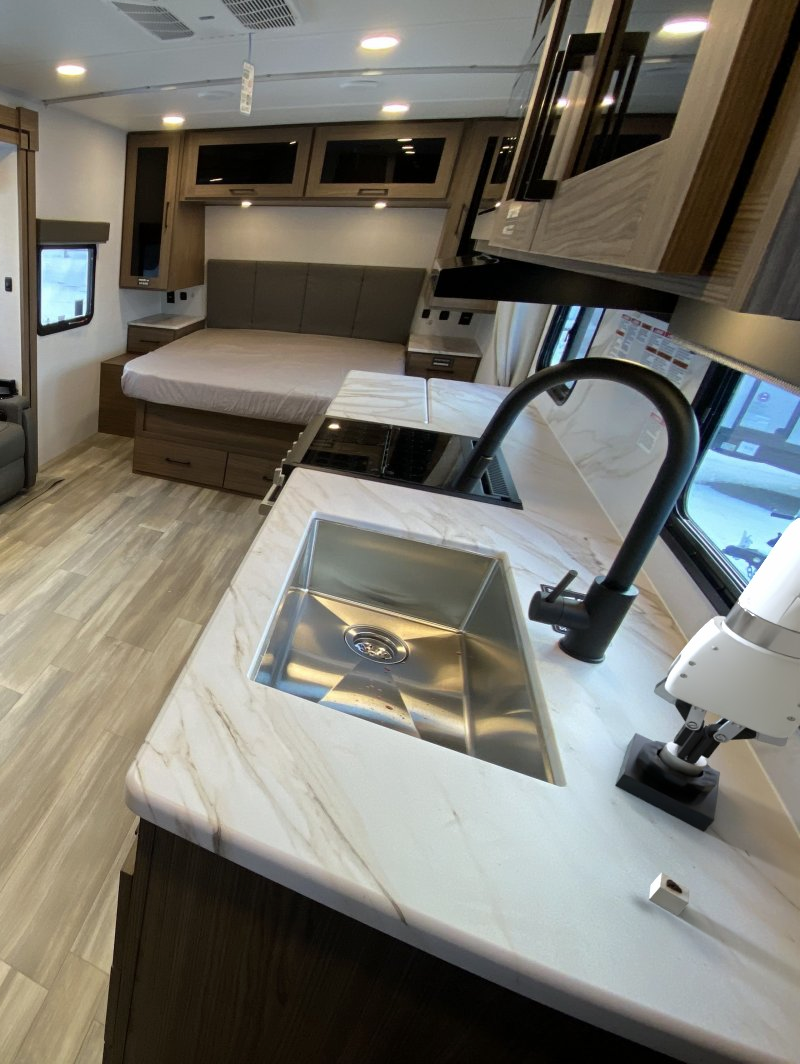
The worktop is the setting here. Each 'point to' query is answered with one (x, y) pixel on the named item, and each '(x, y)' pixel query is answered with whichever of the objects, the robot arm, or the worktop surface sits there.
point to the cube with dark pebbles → (669, 894)
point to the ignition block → (668, 784)
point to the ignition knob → (681, 761)
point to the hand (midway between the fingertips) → (686, 753)
